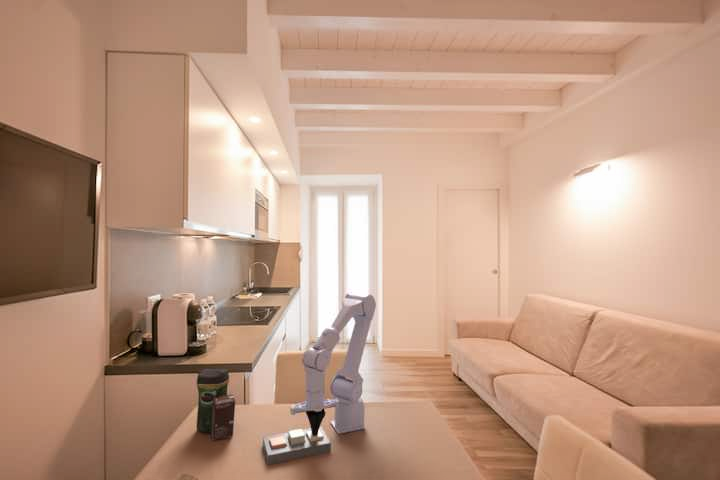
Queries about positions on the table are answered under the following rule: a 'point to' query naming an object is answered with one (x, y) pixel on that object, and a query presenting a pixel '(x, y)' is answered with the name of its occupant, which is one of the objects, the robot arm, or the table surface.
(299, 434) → the sage key
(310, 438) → the cream key
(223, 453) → the table surface
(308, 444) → the keypad
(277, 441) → the terracotta key
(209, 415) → the coffee jar
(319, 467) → the table surface
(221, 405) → the box
